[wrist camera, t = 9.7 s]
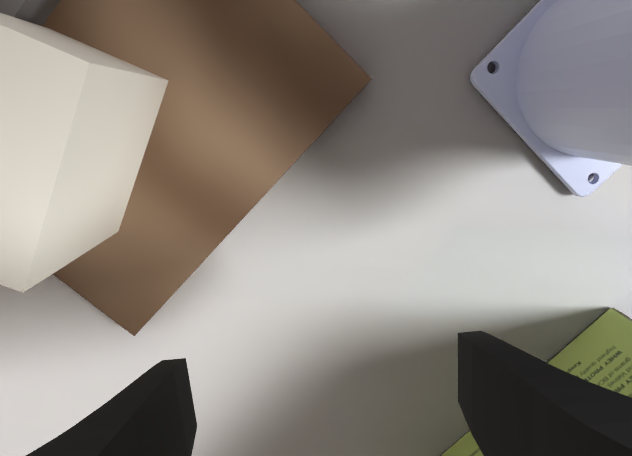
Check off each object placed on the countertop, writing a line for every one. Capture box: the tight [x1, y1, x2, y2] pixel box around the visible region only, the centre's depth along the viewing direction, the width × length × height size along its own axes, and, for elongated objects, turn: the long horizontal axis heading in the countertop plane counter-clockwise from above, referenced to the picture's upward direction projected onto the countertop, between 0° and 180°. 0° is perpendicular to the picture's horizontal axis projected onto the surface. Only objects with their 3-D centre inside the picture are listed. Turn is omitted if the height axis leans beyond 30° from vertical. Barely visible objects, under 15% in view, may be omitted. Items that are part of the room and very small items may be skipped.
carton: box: [0, 13, 169, 293], centre depth 16 cm, size 5×7×7 cm
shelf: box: [0, 0, 371, 336], centre depth 19 cm, size 16×12×3 cm
